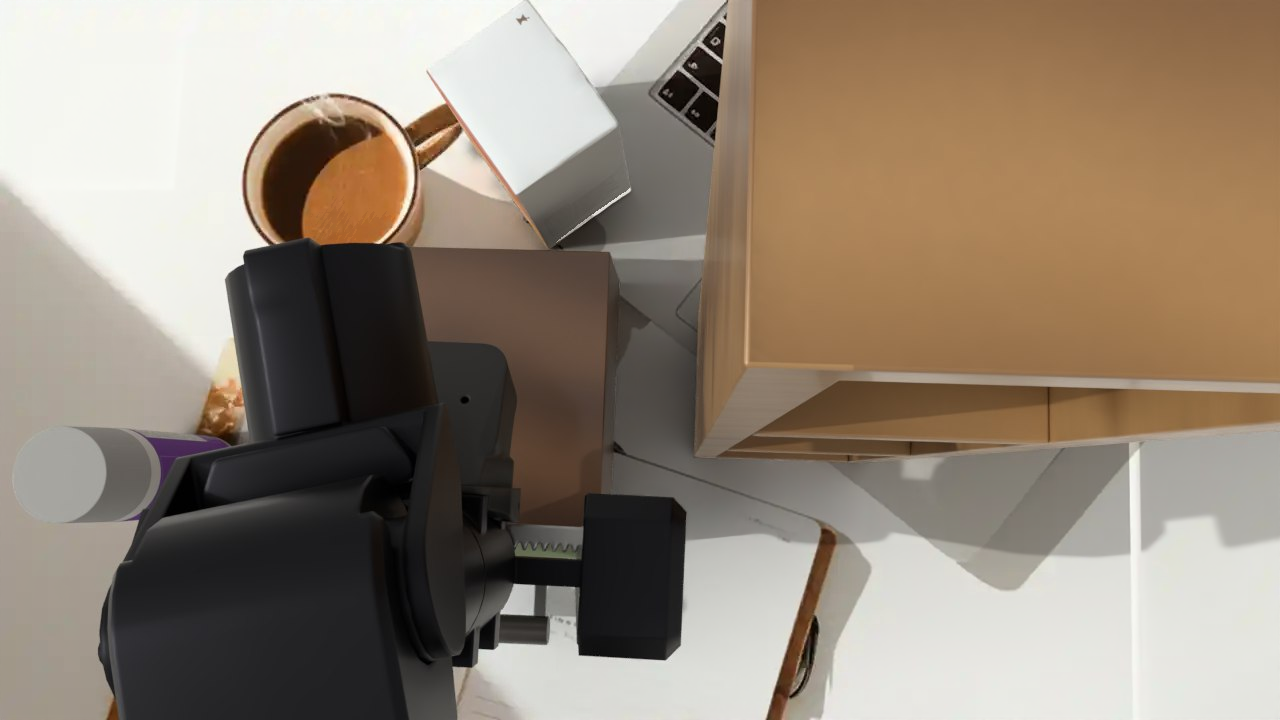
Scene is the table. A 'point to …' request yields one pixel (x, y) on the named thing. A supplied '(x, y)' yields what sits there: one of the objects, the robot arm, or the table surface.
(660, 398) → the table surface
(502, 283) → the brown box
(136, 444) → the container
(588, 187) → the small box
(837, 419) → the rack
